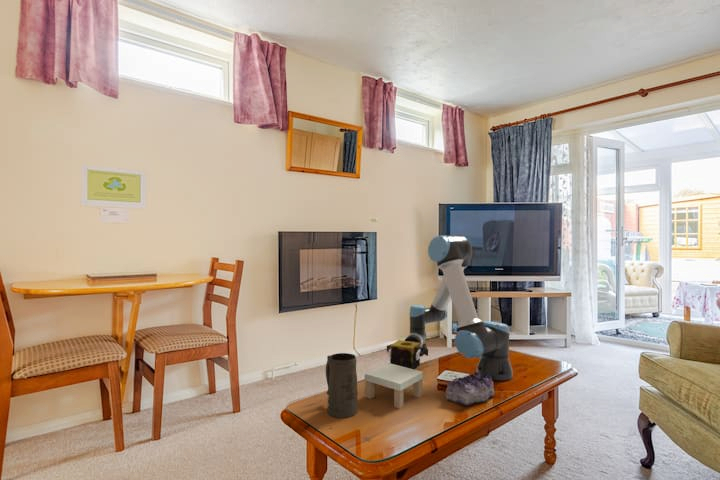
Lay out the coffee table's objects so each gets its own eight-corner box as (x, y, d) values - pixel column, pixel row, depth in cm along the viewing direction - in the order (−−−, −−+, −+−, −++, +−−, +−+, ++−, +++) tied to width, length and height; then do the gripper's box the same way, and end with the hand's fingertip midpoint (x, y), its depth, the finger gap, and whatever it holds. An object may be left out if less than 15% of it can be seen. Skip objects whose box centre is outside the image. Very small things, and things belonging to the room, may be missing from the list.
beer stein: (365, 411, 138) (362, 354, 138) (344, 421, 130) (341, 361, 130) (334, 401, 148) (332, 349, 148) (313, 410, 140) (311, 355, 140)
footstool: (422, 395, 152) (423, 371, 152) (400, 409, 139) (400, 384, 139) (388, 384, 162) (388, 363, 162) (364, 397, 150) (364, 373, 149)
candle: (389, 368, 167) (389, 345, 167) (398, 362, 176) (398, 339, 176) (412, 372, 162) (412, 348, 162) (420, 365, 171) (420, 342, 171)
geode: (477, 388, 160) (481, 364, 159) (500, 402, 150) (504, 377, 149) (439, 396, 150) (442, 371, 148) (460, 412, 140) (464, 385, 139)
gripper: (438, 352, 182) (431, 367, 161) (389, 348, 190) (376, 361, 169) (438, 336, 182) (431, 348, 161) (389, 332, 190) (376, 344, 169)
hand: (403, 355), depth 165 cm, fingers closed on candle, 11 cm apart
